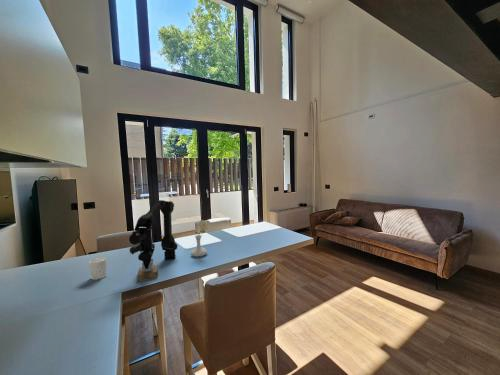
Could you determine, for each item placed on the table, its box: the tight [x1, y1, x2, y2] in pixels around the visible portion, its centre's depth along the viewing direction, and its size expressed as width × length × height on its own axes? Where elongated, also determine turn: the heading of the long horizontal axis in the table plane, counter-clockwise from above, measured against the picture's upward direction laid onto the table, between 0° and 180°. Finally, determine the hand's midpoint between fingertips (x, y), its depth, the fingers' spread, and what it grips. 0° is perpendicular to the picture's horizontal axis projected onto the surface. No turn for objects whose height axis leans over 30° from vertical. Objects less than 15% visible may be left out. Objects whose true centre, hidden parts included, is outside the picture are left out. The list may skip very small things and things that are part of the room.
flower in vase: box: [190, 219, 209, 258], centre depth 149 cm, size 13×11×25 cm
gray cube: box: [141, 258, 154, 272], centre depth 120 cm, size 5×5×5 cm
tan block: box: [136, 264, 159, 282], centre depth 120 cm, size 10×10×4 cm
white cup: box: [88, 256, 107, 281], centre depth 120 cm, size 8×8×10 cm
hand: (147, 265), depth 120 cm, fingers open, 9 cm apart
